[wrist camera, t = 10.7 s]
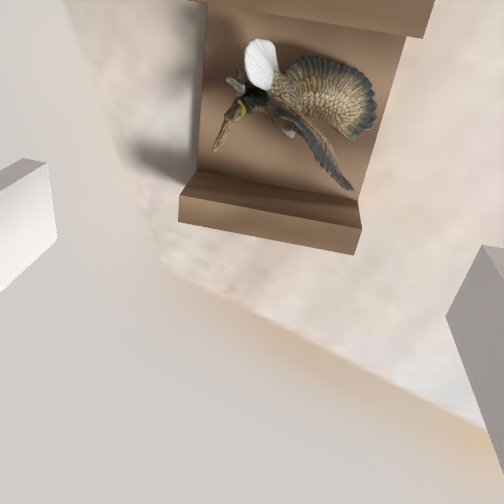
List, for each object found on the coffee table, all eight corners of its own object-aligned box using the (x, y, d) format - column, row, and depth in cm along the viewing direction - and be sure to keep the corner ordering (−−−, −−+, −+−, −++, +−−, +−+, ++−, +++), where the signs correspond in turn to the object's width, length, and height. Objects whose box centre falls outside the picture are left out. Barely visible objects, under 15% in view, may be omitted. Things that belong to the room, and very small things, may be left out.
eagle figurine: (225, 167, 29) (349, 207, 28) (194, 133, 22) (358, 184, 21) (261, 65, 29) (388, 98, 28) (242, -2, 22) (410, 38, 21)
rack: (214, -51, 25) (190, -60, 20) (419, -19, 24) (441, -21, 20) (197, 197, 33) (177, 228, 29) (348, 225, 32) (351, 261, 28)
